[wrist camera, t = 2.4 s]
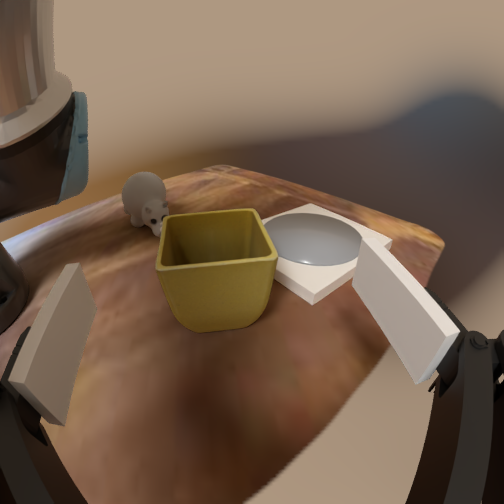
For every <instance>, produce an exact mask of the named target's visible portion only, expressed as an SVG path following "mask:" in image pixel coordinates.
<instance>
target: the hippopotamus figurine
mask: <svg viewBox="0 0 504 504" xmlns="http://www.w3.org/2000/svg"><path fill="white" fill-rule="evenodd" d="M165 199H166V188H165V185H164V183H163V181H162V180H161V179H160V178H159V177H158V176H157V175H155V174H153V173H150V172H140V173H137V174H134V175H133V176H131V177H130V178H129V179H128V180H127V181H126V183H125V185H124V187H123V190H122V201H123V204H124V212H125V213H126V214H128V215H131V224H132V225H133V226H135V227H142V226H143V225H144V224H146V225H147V226H149V227H150V228H151V229H152V231H153V233H154V235H155V236H157V237H161V231H162V222H163V218H164V217H165V216H169V209H168V207H167V205H168V202H167V201H165Z"/></svg>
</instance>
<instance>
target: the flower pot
mask: <svg viewBox="0 0 504 504" xmlns="http://www.w3.org/2000/svg"><path fill="white" fill-rule="evenodd" d="M278 257H279V256H278V253H277V250H276V248H275V246H274V244H273V242H272V240H271V238H270V237H269V235H268V233H267V230H266V229H265V227H264V225H263V223H262V221H261V219H260V217H259V215H258V213H257V212H256V210H255V209H253V208H246V209H231V210H220V211H209V212H198V213H186V214H176V215H170V216H165V217H164V218H163V222H162V231H161V239H160V244H159V249H158V254H157V259H156V272H157V275H158V277H159V280H160V283H161V286H162V288H163V291H164V293H165V296H166V299H167V301H168V304H169V306H170V308H171V311H172V312H173V314H174V316H175V317H176V319H177V320H178V321H179V322H180V323H181V324H182V325H183V326H184V327H186V328H187V329H189V330H191V331H193V332H196V333H204V332H213V331H222V330H231V329H239V328H245V327H248V326H249V325H251V324H252V323H253V322H255V321H256V320H257V319H258V318H259V317H260V315H261V314H262V313H263V311H264V309H265V308H266V305H267V303H268V300H269V297H270V293H271V289H272V284H273V280H274V275H275V271H276V266H277V261H278Z"/></svg>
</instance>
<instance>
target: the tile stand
mask: <svg viewBox="0 0 504 504" xmlns="http://www.w3.org/2000/svg"><path fill="white" fill-rule="evenodd" d="M261 221H262V223H263V225H264V227H265V229H266V230H267V233H268V235H269V237H270V238H271V240H272V242H273V244H274V246H275V248H276V250H277V253H278V256H279V257H278V261H277V266H276V271H275V275H274V279H275V280H276V281H278V282H279V283H281V284H282V285H284V286H285V287H287V288H288V289H289V290H291V291H292V292H294V293H295V294H297V295H298V296H300V297H301V298H303V299H304V300H305V301H307V302H308V303H310V304H311V305H314V304H315V303H317V302H318V301H320V300H321V299H323V298H324V297H325V296H327V295H328V294H330V293H331V292H333V291H334V290H335V289H337V288H338V287H340V286H341V285H342V284H344V283H345V282H347V281H348V280H349V279H351V278H352V277H354V273H355V269H356V264H357V260H358V255H359V250H360V245H361V240H362V239H363V238H376V239H377V240H378V241H379V242H380V243H381V244H382V245H383V246H384V247H385V248H386V249H387V250H389V249H390V248H391V244H392V239H390V238H388V237H386V236H384V235H382V234H380V233H377V232H375V231H373V230H371V229H369V228H367V227H364V226H362V225H360V224H358V223H356V222H353V221H351V220H349V219H347V218H344V217H342V216H340V215H337V214H335V213H333V212H330V211H328V210H326V209H323V208H321V207H319V206H316V205H314V204H311V203H310V204H307V205H304V206H301V207H298V208H295V209H292V210H289V211H286V212H283V213H281V214H278V215H275V216H272V217H269V218H266V219H263V220H261Z"/></svg>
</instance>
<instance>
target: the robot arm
mask: <svg viewBox="0 0 504 504" xmlns="http://www.w3.org/2000/svg"><path fill="white" fill-rule="evenodd" d="M53 5H54V0H0V223H1V222H4V221H7V220H10V219H12V218H15V217H18V216H21V215H24V214H27V213H30V212H33V211H36V210H39V209H42V208H45V207H48V206H51V205H57V204H59V203H60V202H61V201H63V200H66V199H69V198H71V197H74V196H77V195H79V194H80V193H82V192H83V191H84V189H85V187H86V185H87V182H88V140H87V136H88V134H87V133H88V131H87V130H88V112H87V97H86V95H85V93H84V92H76V91H75V92H73V93H72V84H71V81H70V79H69V78H68V77H67V76H66V75H64V74H62V73H60V72H57V71H55V63H54V45H53ZM352 286H353V288H354V289H355V290H356V292H357V293H358V295H359V296H360V298H361V299H362V301H363V302H364V304H365V305H366V307H367V308H368V310H369V311H370V313H371V314H372V316H373V317H374V319H375V320H376V322H377V323H378V325H379V326H380V328H381V329H382V331H383V333H384V334H385V336H386V337H387V339H388V340H389V342H390V344H391V345H392V347H393V348H394V350H395V352H396V353H397V355H398V356H399V358H400V360H401V361H402V363H403V365H404V366H405V368H406V369H407V371H408V373H409V375H410V376H411V378H412V380H413V381H414V383H415V384H418V383H421V382H423V381H425V380H428V379H430V377H431V376H432V374H433V373H434V371H435V370H437V372H438V373H439V375H438V377H437V378H436V380H435V381H434V382H433V384H432V385H431V386H430V388H429V390H428V391H429V392H431V390H432V389H433V388H434V386H435V391H434V399H433V405H432V410H431V416H430V421H429V426H428V430H427V435H426V439H425V443H424V447H423V451H422V454H421V458H420V462H419V465H418V469H417V472H416V475H415V478H414V481H413V484H412V487H411V490H410V493H409V495H408V498H407V501H406V503H405V504H481V500H482V504H504V380H503V381H502V383H499V380H498V378H499V377H500V376H501V375H502V374H504V330H503V331H502V332H501V333H500V335H499V336H498V338H497V339H487V338H486V337H485V336H484V335H483V334H482V333H479V332H477V331H469V332H468V331H467V330H466V328H465V327H464V326H463V325H462V324H461V322H460V321H459V320H458V319H457V318H456V317H455V315H454V314H453V313H452V312H451V311H450V310H449V309H448V307H447V306H446V305H445V304H444V303H442V301H441V299H440V298H439V297H438V296H437V295H436V294H435V293H434V292H432V291H431V290H429V289H428V288H426V287H425V288H423V287H422V286H421V285H420V284H419V283H418V281H417V280H416V279H415V278H414V277H413V276H412V275H411V274H410V273H409V272H408V271H407V270H406V269H405V268H404V267H403V265H402V264H401V263H400V262H399V261H398V260H397V259H396V258H395V257H394V256H393V255H392V254H391V253H390V252H389V251H388V250H387V249H386V248H385V247H384V246H383V245H382V244H381V243H380V242H379V241H378V240H377V239H376V238H363V239H362V240H361V245H360V250H359V255H358V260H357V264H356V269H355V273H354V277H353V282H352ZM28 294H29V285H28V282H27V280H26V277H25V275H24V273H23V271H22V269H21V268H20V266H19V265H18V264H17V263H16V261H15V260H14V259H13V258H12V257H11V255H10V254H9V253H8V252H7V250H6V249H5V248H4V247H3V245H2V244H1V243H0V333H1V332H3V331H4V330H5V329H6V328H7V327H8V326H9V325H10V324H11V323H12V322H13V321H14V320H15V318H16V317H17V316H18V315H19V313H20V312H21V310H22V308H23V307H24V305H25V303H26V300H27V298H28ZM96 311H97V307H96V304H95V302H94V299H93V297H92V294H91V292H90V289H89V287H88V284H87V281H86V279H85V276H84V273H83V270H82V267H81V264H80V263H72V264H66V266H65V267H64V269H63V271H62V272H61V274H60V276H59V277H58V279H57V281H56V282H55V284H54V286H53V287H52V289H51V291H50V293H49V294H48V296H47V298H46V300H45V302H44V303H43V305H42V307H41V309H40V311H39V313H38V315H37V317H36V319H35V321H34V323H33V325H32V327H27V328H26V330H25V331H24V332H23V333H22V334H21V335H20V337H19V339H18V341H17V343H16V347H15V348H14V350H13V352H12V355H11V357H10V359H9V361H8V364H7V366H6V368H5V371H4V373H3V376H2V378H1V381H0V504H88V503H87V501H86V500H85V498H84V497H83V495H82V494H81V493H80V491H79V490H78V488H77V486H76V485H75V483H74V482H73V480H72V479H71V477H70V475H69V474H68V472H67V470H66V469H65V467H64V465H63V464H62V462H61V460H60V458H59V456H58V455H57V453H56V451H55V449H54V447H53V445H52V443H51V441H50V439H49V437H48V435H47V433H46V431H45V429H44V427H43V425H42V424H41V423H40V419H41V416H42V417H43V418H44V419H45V420H46V421H47V422H48V423H50V424H55V425H60V426H65V423H66V418H67V413H68V409H69V404H70V400H71V395H72V391H73V387H74V383H75V379H76V375H77V372H78V368H79V365H80V361H81V358H82V354H83V351H84V348H85V344H86V341H87V338H88V335H89V332H90V329H91V326H92V323H93V320H94V317H95V314H96Z"/></svg>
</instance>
